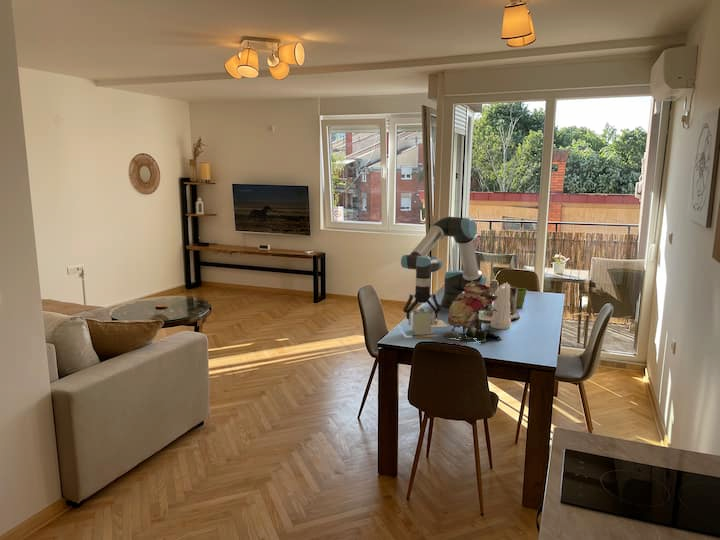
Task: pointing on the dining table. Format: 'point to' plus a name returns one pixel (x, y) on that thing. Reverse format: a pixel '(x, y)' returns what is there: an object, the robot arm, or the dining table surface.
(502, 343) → the dining table surface
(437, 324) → the cream plate
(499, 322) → the decorative vase
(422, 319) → the sage cover
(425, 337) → the tan mat
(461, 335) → the rose bouquet
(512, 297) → the coffee box
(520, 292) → the plant pot
